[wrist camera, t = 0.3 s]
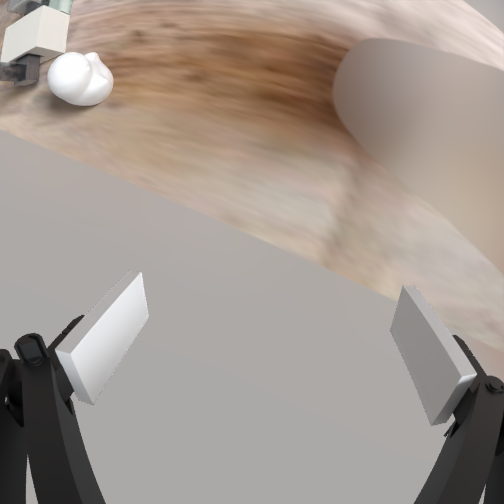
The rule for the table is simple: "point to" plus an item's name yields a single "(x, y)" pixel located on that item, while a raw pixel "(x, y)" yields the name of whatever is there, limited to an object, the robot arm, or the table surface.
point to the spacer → (22, 6)
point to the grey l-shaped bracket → (23, 64)
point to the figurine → (80, 79)
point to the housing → (36, 35)
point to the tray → (61, 5)
